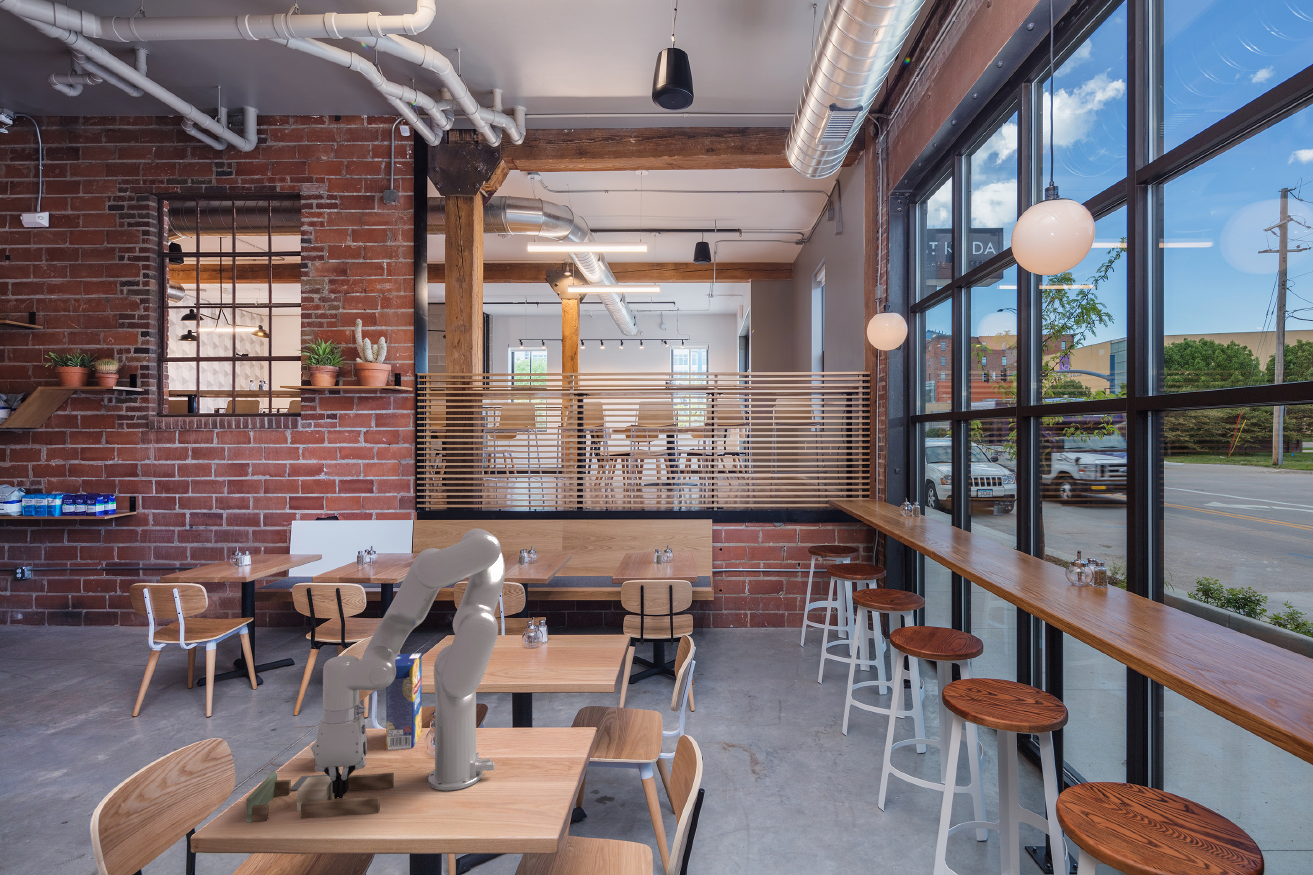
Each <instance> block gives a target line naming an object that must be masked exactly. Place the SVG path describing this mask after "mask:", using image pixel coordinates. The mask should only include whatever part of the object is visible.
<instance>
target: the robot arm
mask: <svg viewBox="0 0 1313 875" xmlns="http://www.w3.org/2000/svg"><path fill="white" fill-rule="evenodd" d="M465 579H468V581H467V585H466V587H465V590H464V593H463V595H462V598H461V600H460V603H459V606H458V608H457V609H456V610H457V611H456V612H455V615H454V617H453V621H452V628H453V633H454V635H455V636H454V638H453V641H452V643H451V644H448V645H447V646H445V647H443V648H442V649H441V650H440V651H439V652H438V654H437V655H436V657H435V660H434V664H433V682H434V769H433V770H432V771H431V772H430V773H428V777H427V780H428V782H427V783H428V785H429V786H430V787H431V788H433V789H435V790H438V791H439V790H440V791H456V790H462V789H464V788H468V787H470V786H472V785H474V784H476V783H478V782H479V780H481V779H482V777H483V772H484V771H487V772H488V771H489V772H490V771H495V764H496V762H495V761H492V758H491V757H490V758H489V757H488V758H481V757H480V753H479V752H477V689H478V687H479V686H480V684H481V682H482V681H483V678H484V675H485V672H486V671H487V667H488V666H489V662H490V659H491V657H492V654H493V651H494V648H495V646H496V644H497V640H498V634H499V625H498V620H497V618H496V617H495V613H496V609H497V606H498V603H499V601H500V597H501V593H502V591H503V587H504V584H505V579H506V564H505V559H504V555H503V552H502V546H501V543H500V541H499V539H498V538H497V537H496V536H495V535H494V534H493V533H490V532H489V531H487V530H485V529H482V528H471V529H470V530H468V531H466V532H465V533H464V534H463V536H462V537H461V539H460V541H458V542H457V543H453V544H452V545H449V546H447V547H444V548H441V549H439V548H436V547H435V548H434V547H430V548H426V549H423V550H421V551H420V552H419V553H418V554H417V555H416V557H415V559H414V560H413V562H412V564H411V566H410V568H409V570H408V572H407V574H406V575H405V577H404V579H403V581H402V582H401V585H400V587H399V588H398V591H397V592H396V594H395V596H394V598H393V600H392V601H391V604H390V606H389V607H388V608H387V610H386V612H385V614H384V615H383V617H382V619H381V621H380V623H379V624H378V626H377V628H376V629H375V631H374V633H373V635H372V636H371V639H370V640H369V642H368V644H367V646H366V648H365V650H364V651H363V654H362V655H361V656H362V657H361V659H359V658H358V657H357V656H354V655H348V654H347V655H346V654H345V655H340V656H335V657H334V656H333V657H331V658H329V659H328V660H326V661H325V663H324V664H323V669H322V672H323V673H322V719H321V720H320V721H319V725H318V727H317V733H316V739H315V741H316V747H315V757H314V764H315V766H314V771H315V772H321V773H324V774H325V775H328V776H329V777H330V780H331V781H332V793H334V798H333V800H337V799H344V797H345V795H346V793H348V792H349V791H348V788H349V776H350V775H352V773H354V771H358V770H362V769H365V767H366V766H367V761H366V756H367V753H368V739H367V730H366V724H365V718H364V715H363V714H365V713H366V711H367V707H366V706H363V705H361V700H360V697H361V696H360V691H381V690H383V689H386V687H388V686H389V685H390V684H391V683H392V682H393V681H394V679H395V676H396V666H395V659H396V657H397V655H398V654H400V651H401V649H402V647H403V645H404V643H406V642H405V641H406V640H407V638H408V636H409V635H410V633H411V632H412V631H413V630H414V629H416V627H418V626H420V624H422V623H423V622H424V620H426V617H427V615H428V613H429V611H430V610H431V607H432V606H433V603H434V601H435V599H436V597H437V595H438V593H439V592H440V589H442V588H445V587H447V586H448V587H449V586H451V585H453V584H456V583H458V582H460V581H462V580H465ZM340 767H342V768H341V769H342V771H340Z"/></svg>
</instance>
